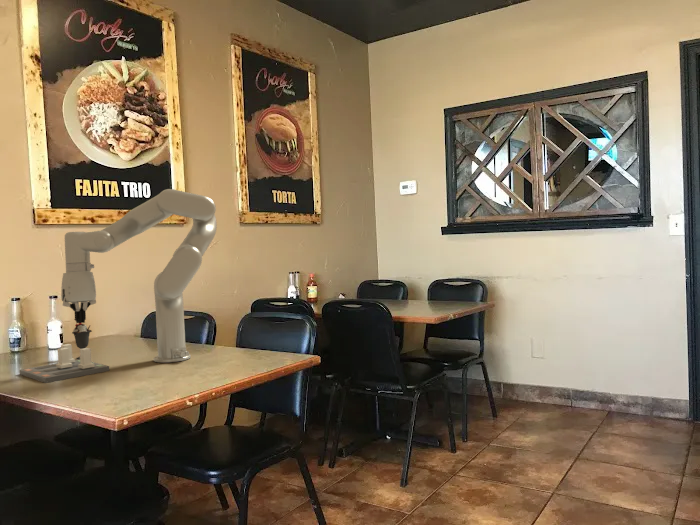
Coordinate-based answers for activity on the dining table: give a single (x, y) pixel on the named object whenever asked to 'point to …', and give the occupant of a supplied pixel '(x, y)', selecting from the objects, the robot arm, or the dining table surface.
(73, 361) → the breaker far
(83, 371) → the console
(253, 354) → the dining table surface
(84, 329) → the sundae
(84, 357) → the breaker near
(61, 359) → the breaker mid
